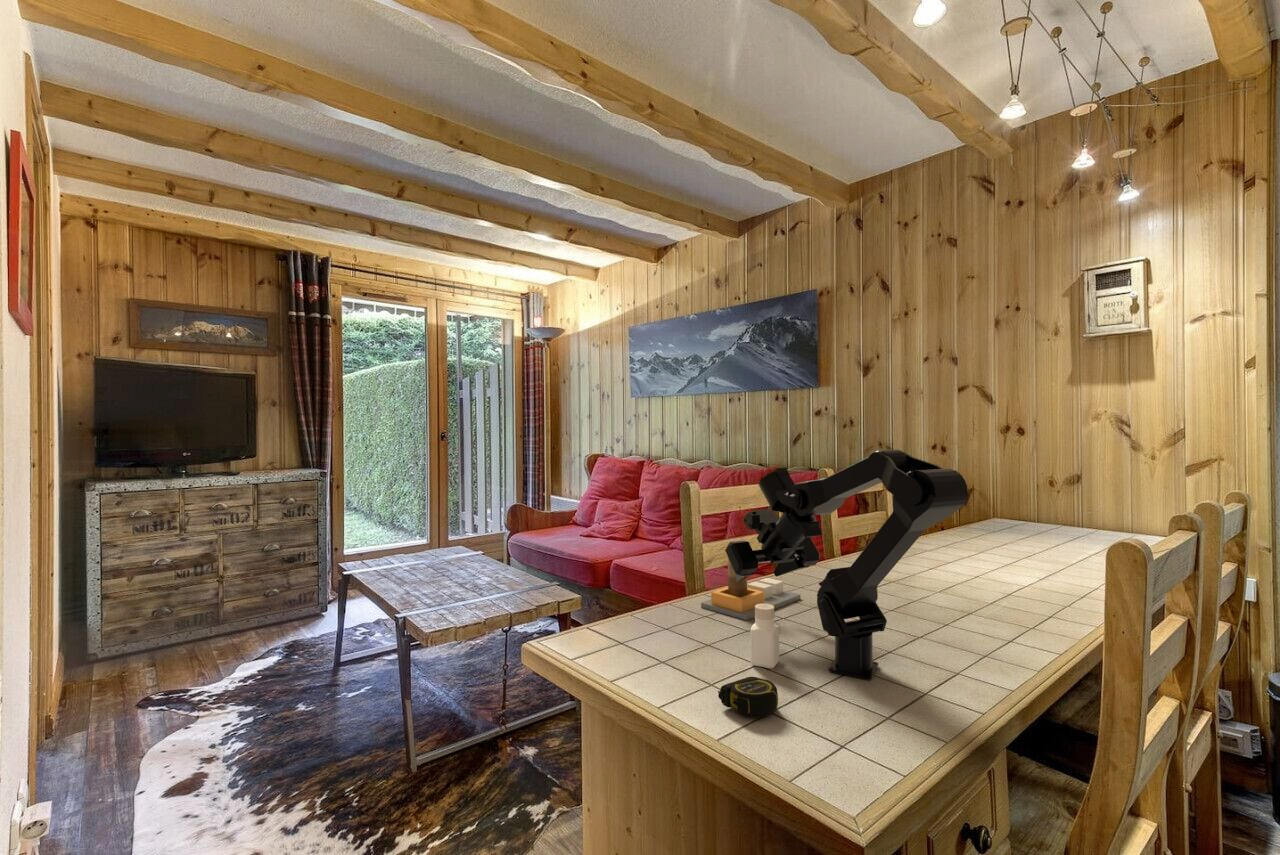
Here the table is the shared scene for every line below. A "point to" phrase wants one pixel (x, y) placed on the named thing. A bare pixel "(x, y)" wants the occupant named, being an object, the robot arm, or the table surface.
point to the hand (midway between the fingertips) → (756, 577)
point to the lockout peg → (735, 583)
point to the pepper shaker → (764, 637)
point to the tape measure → (750, 697)
